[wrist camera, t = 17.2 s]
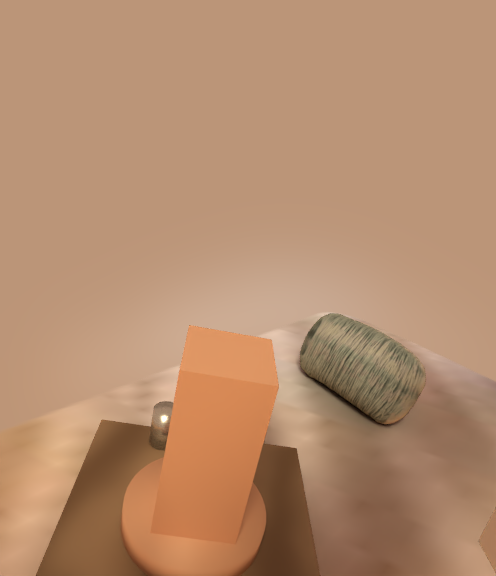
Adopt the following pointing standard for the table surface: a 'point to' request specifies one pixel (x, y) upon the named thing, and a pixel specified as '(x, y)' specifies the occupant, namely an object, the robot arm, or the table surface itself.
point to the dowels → (160, 425)
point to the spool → (363, 367)
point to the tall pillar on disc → (206, 463)
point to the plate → (110, 495)
